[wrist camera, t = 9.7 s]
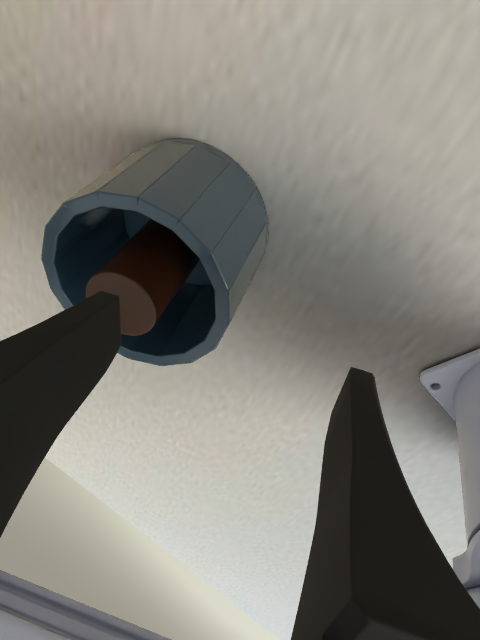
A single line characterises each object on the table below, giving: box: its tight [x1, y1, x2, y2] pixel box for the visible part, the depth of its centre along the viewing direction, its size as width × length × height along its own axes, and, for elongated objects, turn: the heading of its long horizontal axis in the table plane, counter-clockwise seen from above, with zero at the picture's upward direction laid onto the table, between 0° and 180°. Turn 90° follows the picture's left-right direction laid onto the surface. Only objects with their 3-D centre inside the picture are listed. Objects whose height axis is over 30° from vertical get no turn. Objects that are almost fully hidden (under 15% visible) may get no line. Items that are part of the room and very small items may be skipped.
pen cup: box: [41, 139, 269, 366], centre depth 21 cm, size 8×8×6 cm
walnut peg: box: [86, 219, 200, 336], centre depth 21 cm, size 3×3×7 cm
